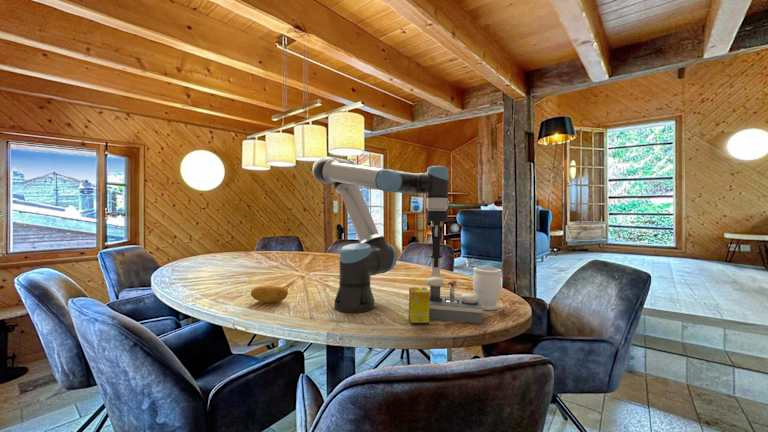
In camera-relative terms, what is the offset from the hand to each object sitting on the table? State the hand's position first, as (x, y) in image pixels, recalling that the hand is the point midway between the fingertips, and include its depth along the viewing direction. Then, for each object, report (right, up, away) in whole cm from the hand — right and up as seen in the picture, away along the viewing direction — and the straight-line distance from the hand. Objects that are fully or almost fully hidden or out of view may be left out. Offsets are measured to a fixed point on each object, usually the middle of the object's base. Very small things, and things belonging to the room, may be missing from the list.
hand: (435, 275), depth 118 cm
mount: (+5, -14, -1) cm, 15 cm away
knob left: (0, -8, 0) cm, 8 cm away
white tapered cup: (+21, -14, +9) cm, 27 cm away
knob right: (+11, -13, -2) cm, 18 cm away
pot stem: (+5, -14, -1) cm, 15 cm away
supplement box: (-7, -14, -8) cm, 18 cm away
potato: (-63, -12, +10) cm, 65 cm away
